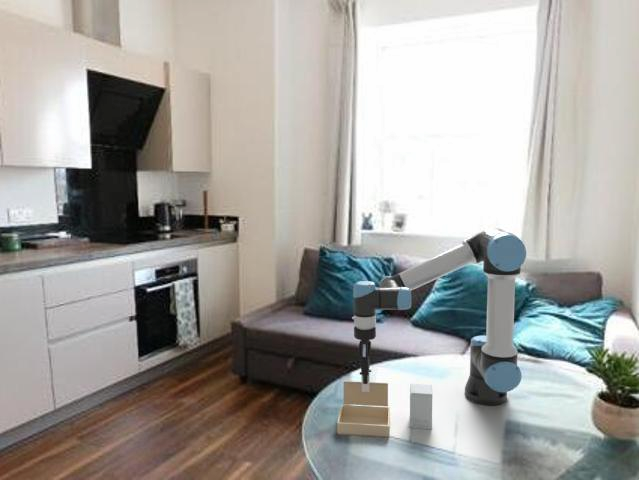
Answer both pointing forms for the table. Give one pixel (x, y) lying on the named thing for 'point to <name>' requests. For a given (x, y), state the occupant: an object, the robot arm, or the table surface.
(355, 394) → the lid flap
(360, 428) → the box
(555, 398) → the table surface
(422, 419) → the supplement box
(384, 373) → the table surface
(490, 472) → the table surface
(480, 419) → the table surface
